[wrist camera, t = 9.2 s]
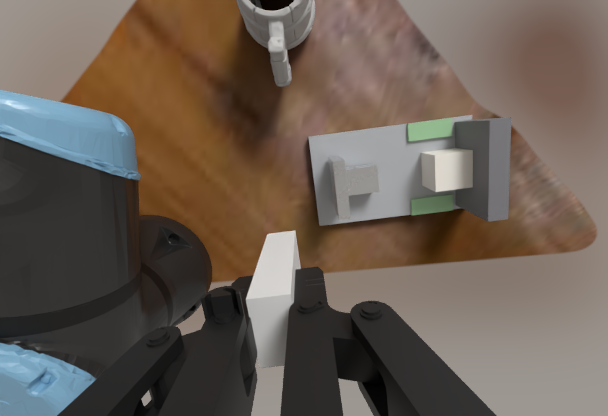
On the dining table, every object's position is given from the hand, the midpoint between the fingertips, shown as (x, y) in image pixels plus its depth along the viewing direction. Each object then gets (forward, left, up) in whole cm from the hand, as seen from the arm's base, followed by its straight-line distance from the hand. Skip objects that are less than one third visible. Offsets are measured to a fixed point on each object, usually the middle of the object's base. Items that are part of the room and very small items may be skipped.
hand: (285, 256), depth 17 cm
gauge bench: (+12, 0, -23) cm, 26 cm away
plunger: (+7, 0, -21) cm, 22 cm away
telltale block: (+17, 0, -22) cm, 28 cm away
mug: (+1, +17, -23) cm, 29 cm away
